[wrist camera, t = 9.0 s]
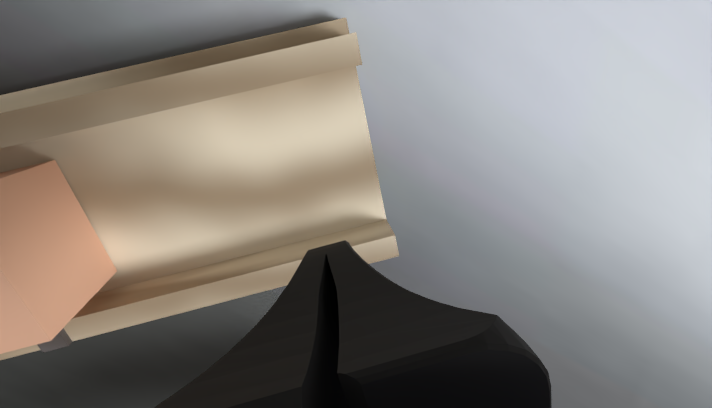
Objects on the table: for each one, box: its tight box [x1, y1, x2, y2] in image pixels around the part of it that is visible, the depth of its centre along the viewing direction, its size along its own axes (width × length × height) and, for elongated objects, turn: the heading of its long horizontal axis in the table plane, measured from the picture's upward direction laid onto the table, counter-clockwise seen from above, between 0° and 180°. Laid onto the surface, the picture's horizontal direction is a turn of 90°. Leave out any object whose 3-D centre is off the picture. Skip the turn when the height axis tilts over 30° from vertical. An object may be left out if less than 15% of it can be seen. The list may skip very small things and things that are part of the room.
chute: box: [0, 18, 399, 360], centre depth 16 cm, size 12×24×3 cm, turn 102°
